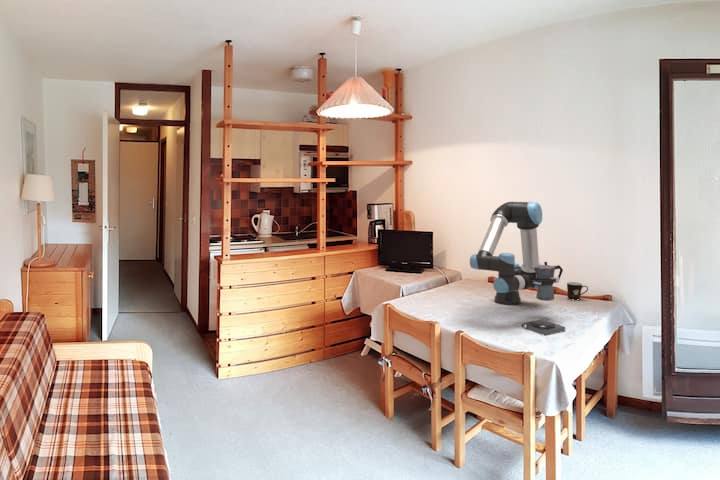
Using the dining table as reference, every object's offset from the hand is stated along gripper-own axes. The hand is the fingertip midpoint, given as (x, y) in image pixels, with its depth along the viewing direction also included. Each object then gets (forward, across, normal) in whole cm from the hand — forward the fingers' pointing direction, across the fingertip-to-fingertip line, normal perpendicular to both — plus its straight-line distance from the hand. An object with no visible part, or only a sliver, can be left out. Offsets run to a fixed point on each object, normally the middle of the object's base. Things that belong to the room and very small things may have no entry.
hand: (551, 277), depth 246 cm
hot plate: (-20, +13, -21) cm, 32 cm away
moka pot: (-4, 0, -11) cm, 12 cm away
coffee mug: (+44, -18, -22) cm, 53 cm away
